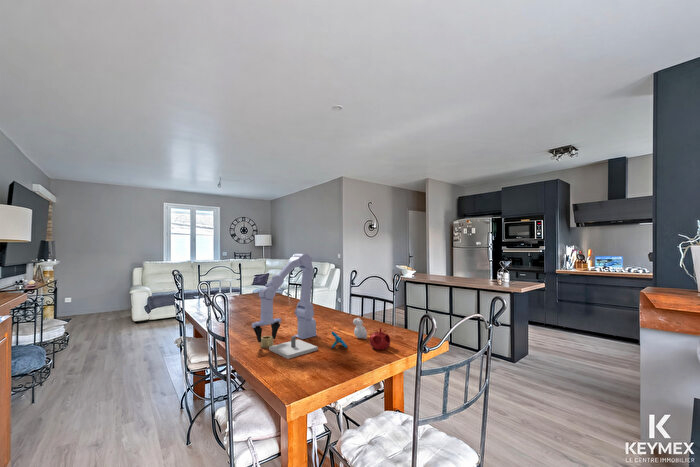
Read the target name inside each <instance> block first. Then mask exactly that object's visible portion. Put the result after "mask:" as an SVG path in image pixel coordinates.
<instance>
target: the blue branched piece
mask: <svg viewBox="0 0 700 467" xmlns="http://www.w3.org/2000/svg"><path fill="white" fill-rule="evenodd" d="M330 333H331V335H332V336H333V337H334V338H335V341H334V342H333V343H332V345H331V348H332V349H334V348H335V347H336V345H338V344H339V343H340V344H341V345H342V346H343V347H344V348H348V345H347V343H345V341H344V340H343V339H342V337H340V336H339V335H338V334H337V333H336V332H335V331H331V332H330Z"/></svg>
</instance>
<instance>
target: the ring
mask: <svg viewBox="0 0 700 467" xmlns="http://www.w3.org/2000/svg"><path fill="white" fill-rule="evenodd" d="M259 346H260V348H262V349H269V347H270V346H274V339H273V337H272V335H264V336H261V342H259Z"/></svg>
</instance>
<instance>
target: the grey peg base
mask: <svg viewBox="0 0 700 467" xmlns="http://www.w3.org/2000/svg"><path fill="white" fill-rule="evenodd" d="M296 338H297V337H295V336H294V335H292V336H291V337H290V339H291V340H289V341H286V342H283V343H278V344H275V345H274V344H273V346H270V347H269V348H268V350H269V351H270V352H272V353H275V354H277V355H279V356H280V357H283V358H284V359H287V360H289V359H291V358H296V357H299V356H302V355H303V356H304V355H306V354H308V353H312V352H316V351H318V350H319V348H318V346H317V345H314V344H312V343H309V342H306V341H303V340H302V339H300V338H298V339H296Z"/></svg>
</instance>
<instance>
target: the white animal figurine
mask: <svg viewBox="0 0 700 467" xmlns="http://www.w3.org/2000/svg"><path fill="white" fill-rule="evenodd" d="M363 323H364V321H363V320H362V319H361V318H360V317H357V318H354V319H353V320H352V324H353V325H354V326H355V325H356V326H355V327H354V330H353V333H354V336H355V337H356V338H357V339H363V340H367V338H368V331H367V329H366V327H365V326H364V325H363Z"/></svg>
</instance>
